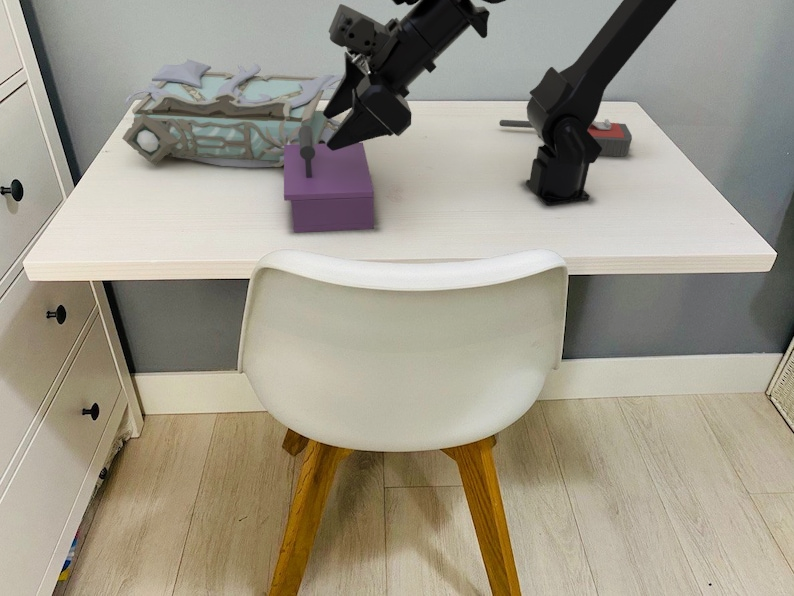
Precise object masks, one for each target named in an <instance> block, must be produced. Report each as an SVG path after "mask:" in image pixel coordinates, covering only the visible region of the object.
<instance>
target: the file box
mask: <svg viewBox="0 0 794 596" xmlns="http://www.w3.org/2000/svg"><path fill="white" fill-rule="evenodd" d="M374 197H375V196H374ZM374 197H362V198H337V199H313V200H290V202H291V212H292V213H291V214H292V226H293V233H311V232H330V231H331V232H333V231H353V230H373V229H374V214H375V213H374V203H375V202H374V201H375V200H374Z"/></svg>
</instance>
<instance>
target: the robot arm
mask: <svg viewBox="0 0 794 596" xmlns="http://www.w3.org/2000/svg"><path fill="white" fill-rule="evenodd" d="M391 1H392V2H393V3H394V5H396V6H400V5H403V4H406V5H407V6H413V5H414V6H413V7H412V8H411V9H410V10H409V11H408V12H407V13H406V14H405V15H404V16H403V17H402V18H401V19H399V18H397V17H395V18H390V20H388V21H387V22H386V23H385V25H384V24H382V23H381V22H378V21H377V20H375V19H373V18H372V17H369V16H367V15H366V14H364V13H362V12H359V11H357V10H356V9H354V8H351V7H350V6H347V5H345V4H342V3H340V4H339V5H338V7H337V9H336V12H335V15H334V17H333V19H332V21H331V24H330V26H329V29H328V33H329V40H330V42H332V43H333V44H335V45H337V46H339V47H340V48H344V47H345V48H346V51H344V55H343V56H344V76H343V77H342V79H341V80H340V81H339V83H338V84H337V86H338V87H337V88H336V89H334V92H333V93H332V95H331V97H330V99H329V100H328V102H327V104H326V106H325V108H324V109H323V110H322V111H323V115H324V116H325V117H326V118H327V119H331V118H332V119H334V118H335V117H337V116H339V115H341V114H342V113H345V112H347V111H348V110H349V112H348V113H347V114H346V115H345V117H344V118H343V120H342V121H341V122H340V123H341V124H340V125H339V126H338V127H336V129H335V130H334V131H335V132H334V133H333V134H332V136H331V137H330V139H329V140H328V142H327V147H328V148H329V149H331V150H332V151H334V150H337V149H341V148H344V147H347V146H350V145H353V144H356V143H363V142H365V141H368V140H369V141H370V140H374V139H376V138H379V137H384V136H388V137H392V136H393V135H395V136H396V137H400V136H401V135H403V133H404V132H405V131H406V130H407V129H408V128H409V127H410V126H412V113H413V112H412V110H411V108H410V105H409V102H408V100H406V99H405V98H406V97H407V96H409V94H411V92H410V89H409V86H411V84H412V83H414V82H415V80H417V78H419V77H420V76H421V75H422V73H423V72H425V71H427V72H428V73H429V74H432V72H434V70H435V69H436V68H437V65H436V63H435V61H436V60H437V59H438V58H440V56H441V55H442V54H443V53H444V52H445V51H446V50H447V49H448V48H450V46H451V45H453V43H454V42H456V41H457V39H458V38H459V37H460V36H462V34H464V33H465V32H466V31H467V30H468V29H469V28H470V27H472V29H474V31H475V32H476V33H477V34H478V35H479V36H480V38H481V39H485V38H487V37H488V22H489V18H490V15H491V13H490V11H489V10H488V8H487V7H485V6H476V5H475V3H474V2H473V1H472V0H391ZM481 1H482V2H485V3H488V4H490V5H497V4H501V3H503V2H507V0H481ZM677 1H678V0H622V1H621V3H620V4H619V5H618V6H617V7H616V9H615V11H614V12H613V13H612V14H611V15H610V17H609V18H608V19H607V20H606V22H605V23H604V24H603V26H602V27H601V28H600V29H599V31H598V32H597V34H596V35H595V36H594V37H593V39H592V40H591V41H590V42H589V44H588V45H587V46H586V48H585V49H584V50H583V52H582V53H581V54H580V55H579V57H578V58H577V59H576V61H575V62H573V64H572V65H569V66H568V67H566V68H564V69H563V70H561V71H557V70H556V69H555V67H553V66H550V67H549V68H548V69H547V70H546V71H545V73H544V75H543V77H542V78H541V80H540V81H539V83H538V84H537V85H536V86H535V87H534V88H533V89H531V90H530V91H529V95H530V96H531V97H530V99H529V101H528V102H527V104H526V105H527V106H526V118H527V121H529V122H530V124H531V125H532V127H533V128H532V129H533V130H535V132H536V133H537V137H538V138H539V139H541V141H542V142H543V145H540V146H538V147H537V152H536V158H534V159H533V160H532V164H531V169H530V175H529V179H526V181H525V185H526V186H527V187H528V188H529V189H530V191H531V192H532V193H533V194H535V195H536V196H537V197H538V199H539V200H540V201H541V202H542V203H543V204H544V205H545V206H556V205H561V204H562V205H564V204H569V203H577V202H583V201H588V200H590V196H591V195H590V194H589V193H588V192H586V191H585V187H586V182H587V177H588V173H589V168H590V165H591V164H594V163H596V160H597V159H598V157H599V156H600V155H599V154H600V152H601V151H602V147H601V146H600V145H599V144H598V142H597V141H596V140H595V139H594V138H593V136H592V135H591V134H590V133H589V132H588V129H589V127H590V126H591V124H592V123H593V121H594V120H595V119H596V118H597V116H598V113H599V110H600V107H601V104H602V100H603V97H604V93H605V90H606V89H607V87H608V86H609V84H610V83H612V81H613V80H614V78H615V77H616V76H617V74H619V72H620V71H621V70H622V68H623V67H624V66H625V65H626V64H627V62H628V61H629V60H630V59H631V57H632V56H633V55H634V54H635V53H636V52H637V50H638V49H639V47H640V46H641V45H642V44H643V43H644V42H645V40H646V39H647V38H648V37H649V36H650V34H651V33H652V32H653V30H654V29H655V28H656V26H657V25H658V24H660V22H661V21H662V20H663V18H664V17H665V16H666V15H667V13H668V12H669V11H670V10H671V8H672V7H673V6H674V4H676V3H677Z"/></svg>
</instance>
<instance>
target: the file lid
mask: <svg viewBox="0 0 794 596" xmlns="http://www.w3.org/2000/svg"><path fill="white" fill-rule="evenodd" d="M374 192H375V191H374V186H373V182H372V178H371V174H370V168H369V164H368V159H367V155H366V150H365V145H364V142H359V143H356V144H353V145H350V146H347V147H344V148H341V149H337V150H334V151H332V150H331V149H329V148H328V147H327V144H326V143H319V144H315V142H314V131H313V129H312V128H311V127H310V126H307V125H305V126H302V127H301V128H300V130H299V144H297V145H284V165H283V200H284V202H285V201H286V202H287V201H289V202H290V201H291V200H313V199H337V198H362V197H375V196H374V195H375V193H374Z"/></svg>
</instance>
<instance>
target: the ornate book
mask: <svg viewBox="0 0 794 596" xmlns="http://www.w3.org/2000/svg"><path fill="white" fill-rule="evenodd" d="M237 67H238V69H239V72H238V73H237V74H232V73H230V72H227V71H226V72H225V71H210V70H211V69H212V66H211V65H209V64H205V63H201V62H200V61H199V62H198V61H196V60H192V59H189V58H188V59H186V61H185V62H183V63H181V64H169V63H164V64H163V65H162V66H161V67H160V69H159V70H158V71H157V72H156V73H155V74H154V76H153V77H152V78H151V81H149V83H148V88H145V89H144V88H143V89H141V90H138V91H135V92H132V93H131V94H130V95H129V96H127V97H126V99H125V101H124V102H125V105H128V103H129V102H130V101H131V99H132V98H133V97H134V96H136V95H139V94H144V93H145V94H146V95H145V96H144V98H142V99H141V100H140V101H139V102H138V103H137V104H136V105H135V106H134V107H133V108H131V113H132V114H133V116H134V117H133V122H132V123H131V127H128V129H127V130H126V132H125V133H124V134H123V136H122V138H121V139H122V140H123V141H125V143H127V145H128V146H130V147H131V148H132V149H133V150H135V151H137V152H138V154H139V155H140V156H142V157H143V158H144V159H145V160H146V161H149V162H150V163H151V164H152V165H154V166H156V165H157V164H158V163H159V162H160V161H161V160H162V159H163V158H165V156H169V157H173V158H177V159H186V160H192V161H195V162H199V163H204V164H210V165H215V166H220V167H221V166H222V167H235V168H236V167H238V168H273V167H274V168H279V167H280V168H281V167H283V166H284V145H297V144H299V130H300V128H301V127H302V126H305V125H307V126H310V127H311V128H312V129H313V131H314V142H315V144H321V143H320V142H324V144H327V142H328V140H329V139H330V137H331V136H332V134H333V133H334V132H335V130H334V129H332V128H331V127H328V126H327V127H326V125H327V123H329V125H331V126H332V127H334V128H338V126H339V125H340V124H341V122H339V121H337V120H335V119H334V118H331V119H327V118H326V117H325V116H324V115H323V111H324V110H316V109H317V107H318V105H319V103H320V101H321V98H322V96H323V94H324V91H325V90H336V88H337V87H338V85H335V84H336V83H338V82H340V81H341V79H342V77H343V76H344V74H343V73H342V74H336V75H335V74H324V75H321V76H298V75H297V76H296V75H283V74H267V75H264V76H262V75H258V74H259V73H260V71H261V66H260V65H259V64H258V63H255V62H254V65H253V66H252V67H251V68H250V69H248V70H247V71H246V68H245V67H244V66H242V65H239V64H238V65H237ZM152 82H158V83H157V84H154V83H152Z"/></svg>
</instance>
